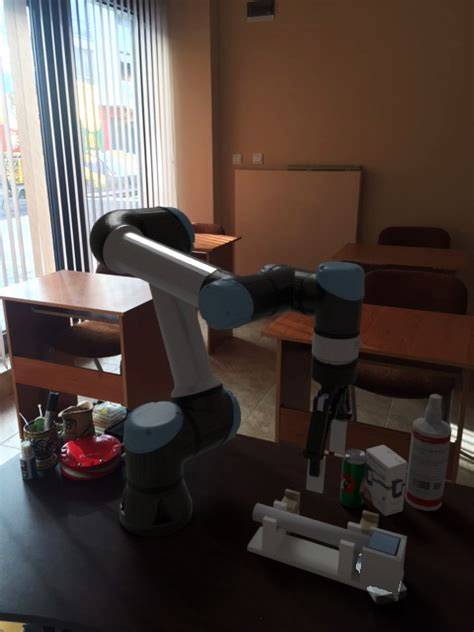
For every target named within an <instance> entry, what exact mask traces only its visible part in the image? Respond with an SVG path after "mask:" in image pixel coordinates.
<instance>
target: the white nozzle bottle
mask: <svg viewBox="0 0 474 632" xmlns="http://www.w3.org/2000/svg"><path fill="white" fill-rule="evenodd" d="M441 404H442V396H441V395H440V394H437V393H434V394H433V393H432V394H430V395H429V401H428V404H427V406H426V408H425V413H424V417H418V418H416V419H414V420H413V421H412V429H411V437H410V444H409V445H410V446H409V453H408V454H409V455H408V462H407V463H408V464H407V474H406V483H405V492H404V499H405V502H406V503H408V504H409V505H410V506H411V507H413V508H415V509H418V510H422V511H424V512H429V511H437V510H438V509H439V508H440V507H442V506H443V505H442V504H443V499H444V491H445V484H446V483H445V482H446V476H447V471H448V470H447V468H448V462H449V453H450V445H451V439H452V431H453V429H452V426H451V424H450V423H448V422H446V421H445V420H443V419H442V418H443V417H442V416H443V411H442V410H443V409H442V406H441Z"/></svg>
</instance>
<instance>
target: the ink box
mask: <svg viewBox="0 0 474 632" xmlns="http://www.w3.org/2000/svg"><path fill="white" fill-rule="evenodd" d="M365 450H366V451H365V455H366V458H367V466H366V478H365V489H364V499H366V500H367V501H369V503H370V504H372V505H373V506H374V507H375V508H376V509H377V510H378V511H379V512H381V514H382V515H384V516H385V517H387V516H390V515H394V514H397V513H400V512H402V511H403V510H404V500H405V489H406V480H407V471H408V462H407V461H406V460H405V459H404V458H403V457H402V456H400V455H399V454H398V453H396V452H395V451H394V450H392V449H391V448H390V447H387V446H386V445H385V444H381V445H378V446H374V447H373V446H372V447H370V448H366V449H365Z"/></svg>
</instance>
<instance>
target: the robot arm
mask: <svg viewBox="0 0 474 632" xmlns="http://www.w3.org/2000/svg"><path fill="white" fill-rule="evenodd" d="M88 241H89V242H88V243H89V248H90V252H91V253H92V255H93V257H94V259H95V260H96V261H97V262H98V263H99V264H100V265H101V266H103V267H104V268H106V269H107V270H110V271H112V272H114V273H116V274H120V275H121V274H129V275H131V276H133V277H136V278H138V279H140V280H142V281H143V282H146V283H148V286H149V290H150V294H151V298H152V302H153V306H154V310H155V314H156V317H157V321H158V325H159V328H160V333H161V336H162V341H163V345H164V348H165V351H166V355H167V359H168V362H169V367H170V372H171V374H172V379H173V382H174V388H173V390H172V392H171V393H170V398H171V401H167V400H159V401H157V402H155V401H151V402H147V403H145V404H144V403H143V404H141V405H140V406H137V407H136V408H134V409H133V410H132V411H131V412H130V413H129V414H128V415H127V416H126V418H125V421H124V424H123V425H124V428H123V437H122V439H123V440H122V442H123V446H124V458H125V459H124V460H125V461H124V462H125V476H126V477H125V478H126V479H125V480H126V484H125V488H124V491H123V495H122V497H121V500H120V503H119V521H120V524H121V525H122V527H123V528H124V529H125V530H127V531H128V532H130V533H132V534H133V535H137V536H140V537H144V538H145V537H148V538H156V537H164V536H168V535H171V534H174V533H176V532H178V531H179V530H181V529H183V528H184V527H185V526H186V525H187V524H188V523H189V522H190V520H191V519H192V516H193V499H192V496H191V495H190V492H189V489H188V487H187V484H186V482H185V478H184V464H185V462H187V461H188V460H190V459H193V458H195V457H197V456H199V455H201V454H203V453H205V452H208V451H210V450H212V449H213V448H216V447H221V446H222V445H224V444H225V443H226V442H228V441H229V440H231V439H233V438H234V437H235V436H236V435H237V433H238V430H239V429H240V426H241V423H242V409H241V407H240V406H241V405H240V403H239V400H238V398H237V396H234V393H233V392H232V390H230V389H228V388H226V387H224V385H223V381H222V380H221V379H218V378H217V377H215V375H213V371H212V367H211V366H212V365H211V362H210V357H209V356H208V351H207V347H206V343H205V339H204V336H203V331H202V328H201V323H200V320H199V316H198V312H199V314H200V316H201V319H202V320H204V321H205V322H206V325H207V326H208V327H209V328H212V329H214V330H216V331H225V330H230V329H231V330H233V329H239V328H241V327H243V326H244V325H249V324H252V323H255V322H258V321H261V320H265V319H269V318H272V317H277V316H279V315H283V314H286V313H295V314H298V315H303V316H306V317H310V318H313V331H312V345H311V353H312V357H311V365H310V366H311V368H310V376H311V378H312V380H313V381H314V382H316V383H318V384H319V385H320V386H321V387H320V389H318V390H317V395H316V396H314V397H313V399H312V401H313V402H312V411H311V417H310V422H309V427H308V431H307V437H306V442H305V443H306V444H305V446H304V447H305V448H304V450H302V456H303V458H304V459H306V460H307V469H306V471H307V472H306V484H305V485H306V487H305V489H306V490H308V491H311V492H314V493H318V494H320V495H321V494H323V493H324V487H325V486H324V484H325V472H326V471H325V470H326V456H327V455H326V456H325V451H326V449H327V444H328V439H329V438H330V439H329V452H332V453H337V454H341V455H344V454H345V452H346V437H347V428H348V427H347V425H348V421H352V418H353V413H351V411H352V404H351V391H350V390H351V388H350V386H351V385H353V384H354V383H355V382H356V380H357V377H358V376H357V375H358V374H357V373H358V365H359V364H358V360H357V358H358V356H359V349H360V348H363V345H364V342H363V341H362V340H360V338H361V337H360V336H361V325H362V323H361V322H362V314H363V307H364V306H363V305H364V297H365V296H366V295H365V270H364V268H363V267H362V266H361V265H359V264H356V263H354V262H348V261H345V262H343V261H342V262H341V261H325V262H321V263H320V264H319V265H318V266H317V269H316V271H314V270H309V269H305V268H304V269H303V268H300V267H295V266H294V267H293V266H291V265H288V264H284V263H282V264H277V263H269V264H266V265H265V266H263V268H262V269H260V270H258V272H257V273H252V274H247V275H240V274H237V273H235V272H230V271H228V270H227V269H224V268H222V267H219V266H218V265H217V266H216V265H215V264H212V263H210V262H206V261H205V260H202V259H199V258H197V257H194V256H193V255H191V254H192V252H193V251H194V248H195V245H194V243H195V242H196V234H195V230H194V227H193V224H192V222H191V220H190V218H189V217H188V216H187V215H186V214H185V213H184V212H183V211H181V210H180V209H178V208H177V207H173V206H161V205H159V206H158V205H157V206H155V207H154V206H153V207H139V208H128V209H124V208H123V209H115V210H110V211H108V212H106V213H105V214H103V215H102V216H100V217H99V218H97V220H96V221H95V222H94V224H93V225H92V228H91V230H90V233H89V240H88ZM197 308H198V312H197Z"/></svg>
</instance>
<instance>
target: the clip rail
mask: <svg viewBox="0 0 474 632" xmlns="http://www.w3.org/2000/svg"><path fill="white" fill-rule="evenodd" d="M273 508H276V509H279V510H283V511H286V512H287V503H283V502H281V501H279V500H277V499H274V502H273ZM359 524H360V523H356V522H353V521H348V523H347V527H346V529H347V530H350V531H354V532H357V533H360V534H361V531H362V525H359ZM373 532H378V533H381V534H385V535H388V536H392V537H395V538H398V539H399V543H398V552H397V557H396V556H392V555H389V554H386V553H383V552H379V551H376V550H373V549H369V548H366V547H363V548H362V555H361V557H360V556H359V554H360V553H357V552H354V548H355V543H352V542H348V541H345V540H342V539H341V541H340V546H339V549H338V550H336V549H334V548H330V547H327V546H325V545H321V544H318V543H315V542H312V541H309V540H306V539H302V538H298V537H295V536H292V535H291V534H287V533H286V530H284V529H280V528H277V520H276V519H273V518H270V517H266V516H265V517H264V518H263V523H262V526H260V527H259V528H258V530H257V531H256V532H255V534H254V535H253V537H252V539H251V540H250V541H249V543H248V544H247V549H246V550H247V551H248V552H251V553H253V554H256V555H260V556H263V557H266V558H269V559H271V560H275V561H277V562H281V563H283V564H287V565H289V566H293V567H295V568H298V569H301V570H304V571H307V572H310V573H312V574H315V575H319V576H321V577H323V578H327V579H331V580H334V581H337V582H340V583H342V584H345V585H349V586H351V587H355V588H357V589H360V590H363V591H366V592H368V591H367V587H369V586H372V587H377V588H379V589H383V590H386V591H388V592H392V593H393V595H394V597H395V599H396V600H394V602H395V601H396V602H398V600H399V597H398V595H399V596H400V593H398V588H399V584H400V581H401V582H402V583H403V580H404V576H405V575H404V574H405V571H404V565H405V556H406V548H407V539H408V536H406V535H403V534H400V533H397V532H392V531H388V530H385V529H381V528H379V527H378V528H376V527H372V526H370V530H369V536H370V537H372V535H373ZM359 557H360V558H361V569H360V573H359V571H358V570H357V569H356V564H357V561H358V558H359Z"/></svg>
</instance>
